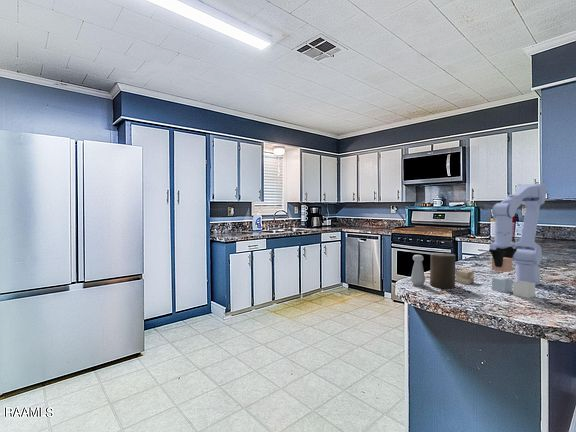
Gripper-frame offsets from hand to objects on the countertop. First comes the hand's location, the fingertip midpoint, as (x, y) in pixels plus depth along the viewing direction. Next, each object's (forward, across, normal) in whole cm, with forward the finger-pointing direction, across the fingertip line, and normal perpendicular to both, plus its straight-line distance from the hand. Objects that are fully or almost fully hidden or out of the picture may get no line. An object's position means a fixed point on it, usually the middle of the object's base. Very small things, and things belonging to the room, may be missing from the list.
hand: (502, 266), depth 128 cm
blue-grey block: (+10, 0, 0) cm, 10 cm away
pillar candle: (+10, +15, -16) cm, 24 cm away
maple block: (+10, 0, -16) cm, 19 cm away
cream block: (+10, 0, +8) cm, 13 cm away
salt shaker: (+10, +23, -22) cm, 33 cm away
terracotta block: (+2, 0, 0) cm, 2 cm away
